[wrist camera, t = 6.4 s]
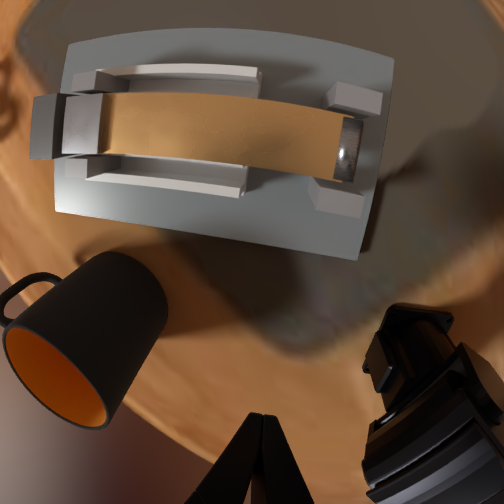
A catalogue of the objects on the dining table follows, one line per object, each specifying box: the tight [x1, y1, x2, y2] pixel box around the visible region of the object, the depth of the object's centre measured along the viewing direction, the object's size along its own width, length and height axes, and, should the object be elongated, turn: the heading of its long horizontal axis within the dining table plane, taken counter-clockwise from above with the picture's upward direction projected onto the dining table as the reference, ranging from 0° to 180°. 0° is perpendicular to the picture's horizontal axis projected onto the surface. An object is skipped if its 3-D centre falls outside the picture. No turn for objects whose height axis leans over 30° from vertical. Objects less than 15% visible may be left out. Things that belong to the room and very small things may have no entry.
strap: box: [62, 93, 364, 183], centre depth 12 cm, size 15×3×2 cm, turn 82°
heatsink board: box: [29, 28, 395, 261], centre depth 14 cm, size 22×13×6 cm, turn 82°
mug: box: [0, 252, 168, 430], centre depth 17 cm, size 8×12×10 cm
